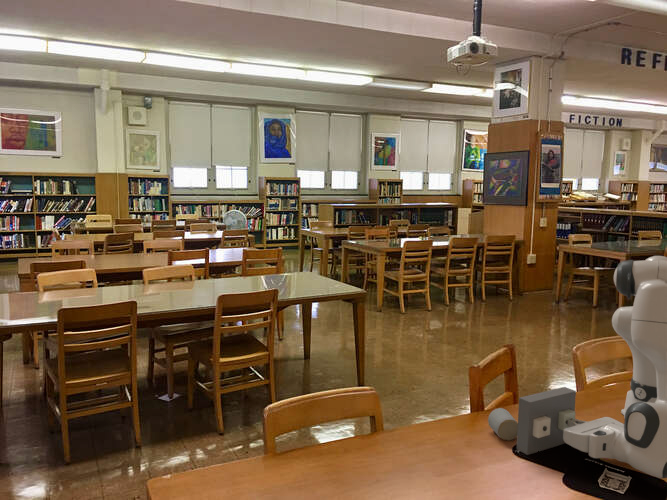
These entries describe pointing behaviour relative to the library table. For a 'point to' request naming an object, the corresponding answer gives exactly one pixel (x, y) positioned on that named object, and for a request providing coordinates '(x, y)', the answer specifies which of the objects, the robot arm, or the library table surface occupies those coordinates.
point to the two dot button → (565, 418)
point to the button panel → (537, 407)
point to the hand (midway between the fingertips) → (570, 421)
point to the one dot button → (541, 426)
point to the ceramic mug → (503, 424)
